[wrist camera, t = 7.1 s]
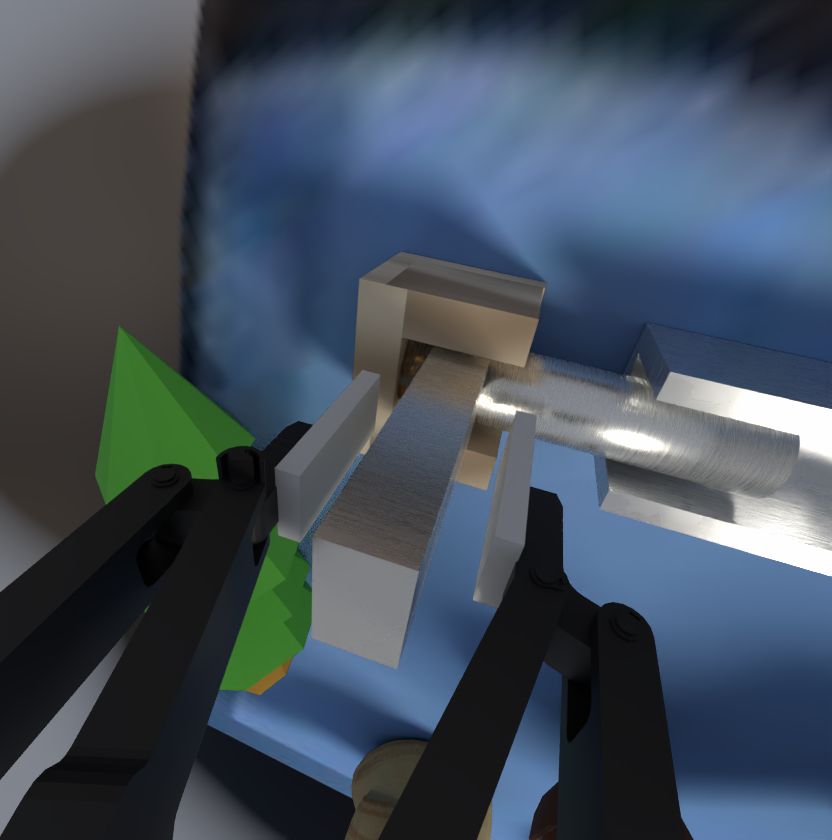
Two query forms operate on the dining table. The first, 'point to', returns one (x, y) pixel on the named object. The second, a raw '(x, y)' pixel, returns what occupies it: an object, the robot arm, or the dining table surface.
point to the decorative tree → (197, 450)
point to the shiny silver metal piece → (443, 455)
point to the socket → (443, 331)
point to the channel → (746, 401)
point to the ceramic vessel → (387, 788)
